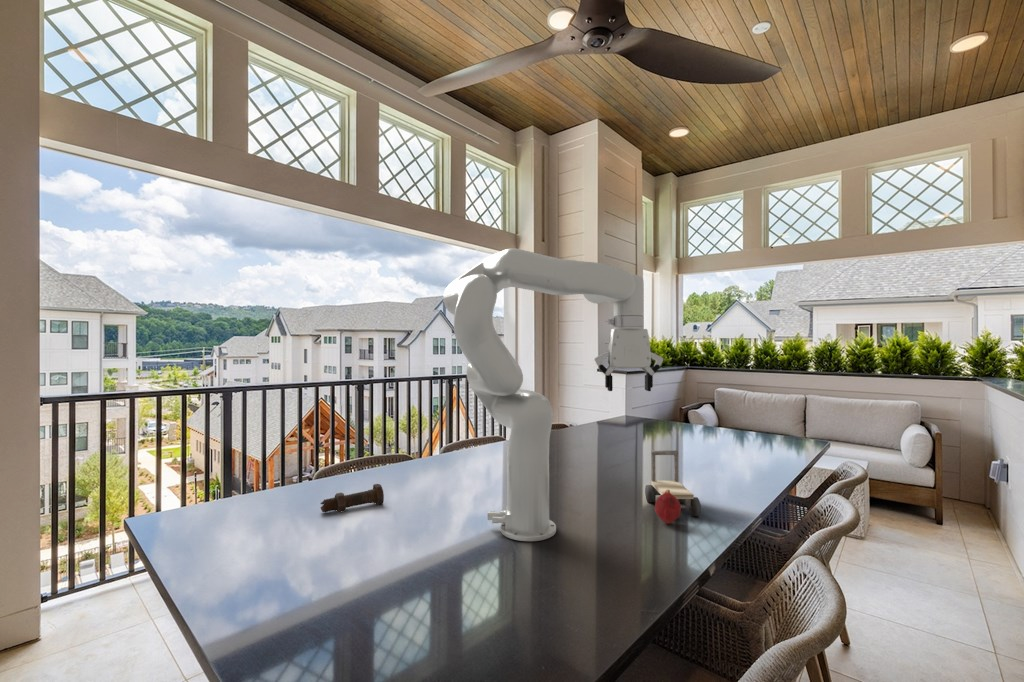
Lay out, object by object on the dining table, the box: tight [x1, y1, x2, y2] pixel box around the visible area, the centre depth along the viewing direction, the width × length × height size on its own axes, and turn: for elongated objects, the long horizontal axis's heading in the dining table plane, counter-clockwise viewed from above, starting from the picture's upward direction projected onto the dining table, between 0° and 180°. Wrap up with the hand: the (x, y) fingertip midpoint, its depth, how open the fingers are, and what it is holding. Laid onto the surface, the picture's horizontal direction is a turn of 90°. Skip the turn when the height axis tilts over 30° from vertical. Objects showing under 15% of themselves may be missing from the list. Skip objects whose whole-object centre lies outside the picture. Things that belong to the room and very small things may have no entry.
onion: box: [654, 489, 682, 525], centre depth 111 cm, size 6×6×8 cm
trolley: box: [644, 449, 702, 517], centre depth 121 cm, size 14×10×14 cm, turn 179°
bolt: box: [320, 483, 385, 513], centre depth 122 cm, size 6×5×15 cm
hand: (628, 390), depth 121 cm, fingers open, 9 cm apart
